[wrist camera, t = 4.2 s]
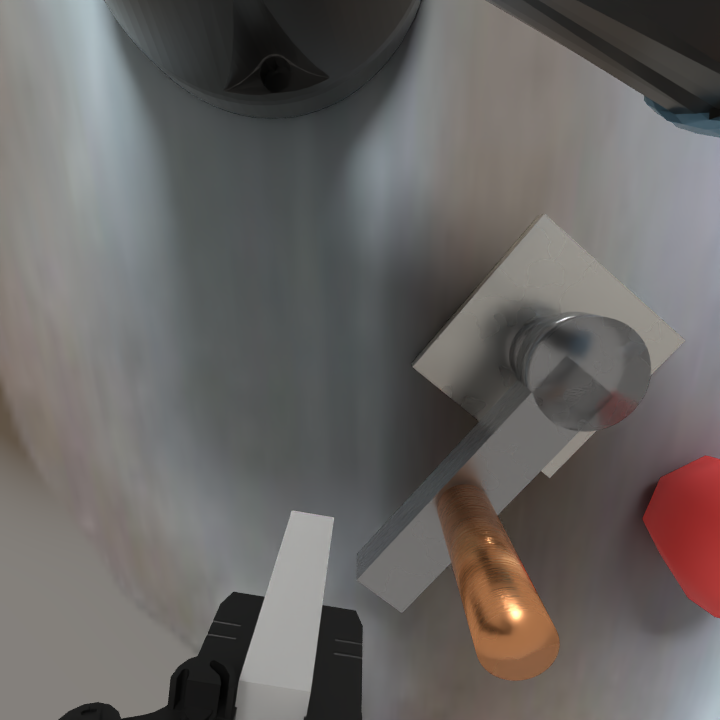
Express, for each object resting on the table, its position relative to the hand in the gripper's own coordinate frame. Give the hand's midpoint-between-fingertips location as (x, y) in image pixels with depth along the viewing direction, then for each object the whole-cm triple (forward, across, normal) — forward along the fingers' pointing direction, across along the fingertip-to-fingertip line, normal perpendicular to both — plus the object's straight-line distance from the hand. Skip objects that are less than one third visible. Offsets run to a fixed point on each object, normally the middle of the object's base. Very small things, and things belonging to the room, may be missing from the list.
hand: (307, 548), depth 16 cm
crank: (+7, +8, +2) cm, 10 cm away
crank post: (+10, +10, +7) cm, 16 cm away
